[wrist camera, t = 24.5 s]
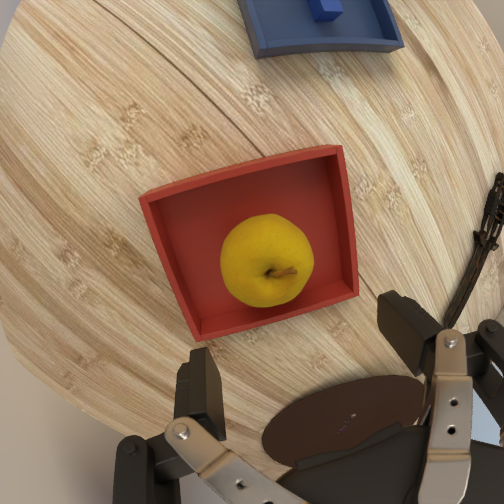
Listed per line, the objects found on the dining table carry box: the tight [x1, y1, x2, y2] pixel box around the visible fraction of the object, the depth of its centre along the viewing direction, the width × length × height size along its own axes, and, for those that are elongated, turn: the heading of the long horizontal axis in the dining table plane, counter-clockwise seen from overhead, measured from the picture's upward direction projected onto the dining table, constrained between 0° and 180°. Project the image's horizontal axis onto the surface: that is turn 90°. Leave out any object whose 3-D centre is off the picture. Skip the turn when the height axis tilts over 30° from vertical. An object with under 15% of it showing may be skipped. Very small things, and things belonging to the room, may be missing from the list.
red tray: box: [138, 145, 359, 342], centre depth 23 cm, size 15×13×3 cm
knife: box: [444, 172, 504, 329], centre depth 28 cm, size 25×6×1 cm, turn 159°
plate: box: [262, 375, 424, 468], centre depth 36 cm, size 28×28×4 cm
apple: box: [220, 214, 314, 307], centre depth 20 cm, size 6×6×8 cm
